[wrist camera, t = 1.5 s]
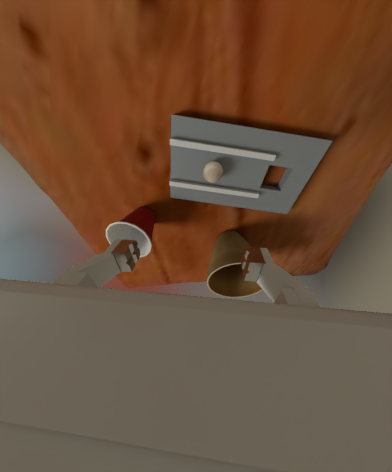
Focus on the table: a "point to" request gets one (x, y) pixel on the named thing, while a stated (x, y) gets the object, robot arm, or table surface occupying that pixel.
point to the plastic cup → (134, 229)
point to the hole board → (240, 163)
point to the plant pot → (229, 267)
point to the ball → (212, 171)
